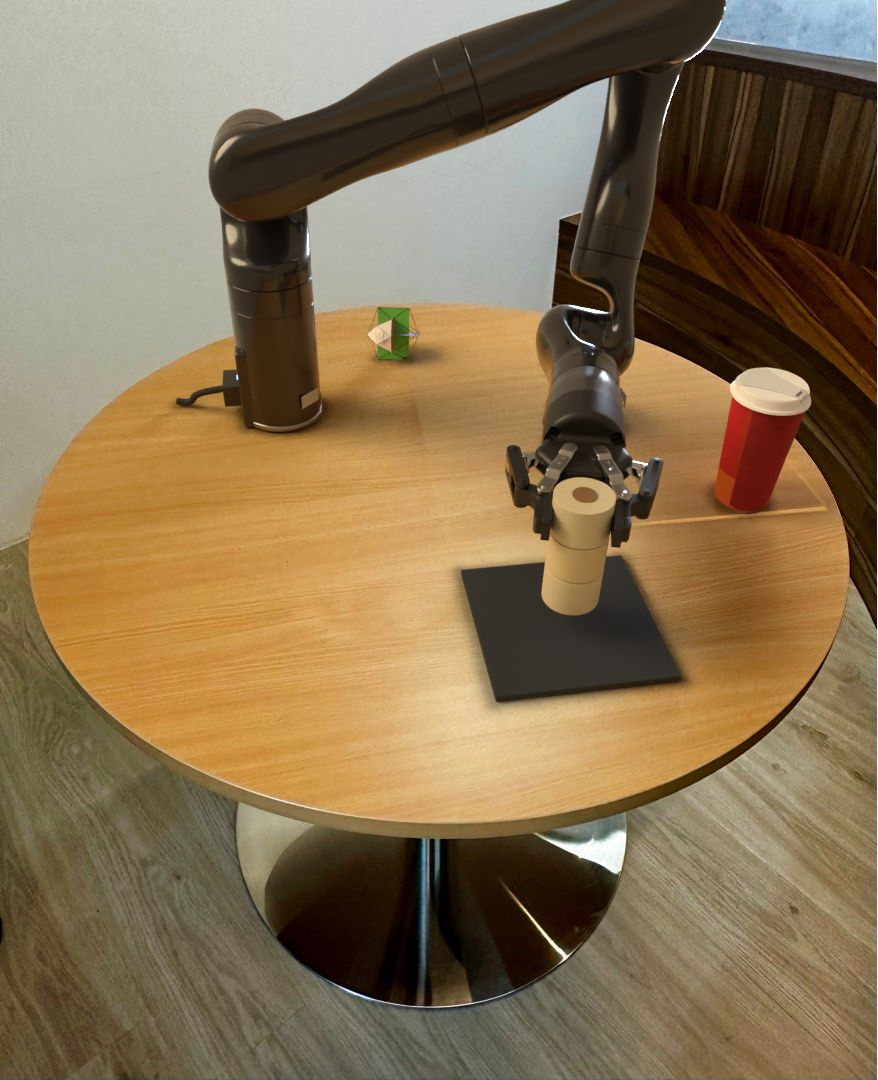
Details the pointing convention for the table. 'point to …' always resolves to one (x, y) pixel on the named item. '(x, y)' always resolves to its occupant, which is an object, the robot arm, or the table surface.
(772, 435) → the paper cup
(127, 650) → the table surface
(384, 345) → the geometric puzzle
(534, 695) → the rubber mat
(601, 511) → the tape stack
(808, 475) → the table surface
